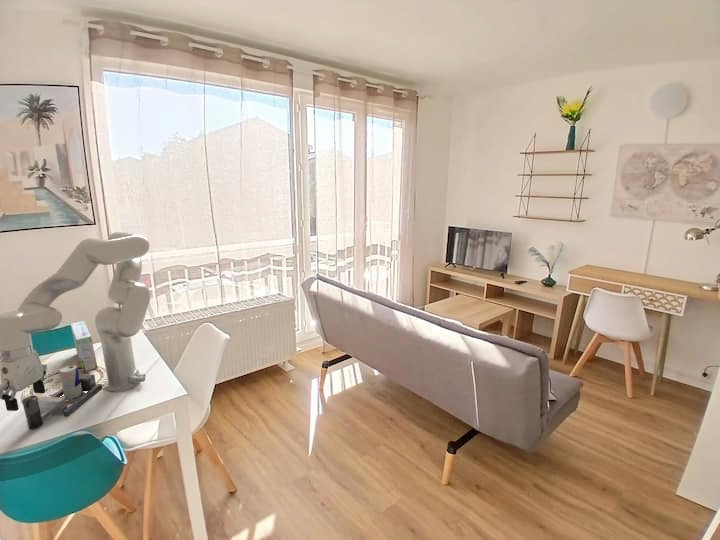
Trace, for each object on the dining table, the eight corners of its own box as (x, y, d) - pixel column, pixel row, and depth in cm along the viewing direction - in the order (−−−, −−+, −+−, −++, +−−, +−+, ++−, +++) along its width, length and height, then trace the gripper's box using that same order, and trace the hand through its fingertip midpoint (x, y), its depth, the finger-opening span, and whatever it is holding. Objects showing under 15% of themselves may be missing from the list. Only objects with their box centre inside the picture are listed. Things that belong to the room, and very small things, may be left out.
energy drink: (86, 393, 142) (81, 364, 139) (76, 401, 136) (70, 372, 133) (72, 393, 141) (66, 364, 138) (61, 402, 136) (55, 372, 133)
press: (102, 388, 145) (99, 374, 143) (68, 416, 128) (64, 401, 127) (70, 387, 145) (67, 373, 143) (32, 416, 128) (28, 400, 127)
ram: (68, 410, 131) (62, 384, 128) (43, 429, 121) (37, 402, 119) (45, 409, 131) (39, 384, 129) (19, 429, 121) (12, 401, 119)
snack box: (75, 354, 171) (69, 323, 167) (90, 350, 175) (85, 320, 171) (82, 372, 156) (75, 339, 152) (98, 368, 160) (92, 335, 156)
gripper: (2, 365, 107) (13, 418, 111) (52, 340, 124) (60, 387, 128) (-24, 364, 107) (-12, 417, 111) (29, 339, 124) (38, 386, 128)
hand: (26, 401), depth 120 cm, fingers open, 9 cm apart
